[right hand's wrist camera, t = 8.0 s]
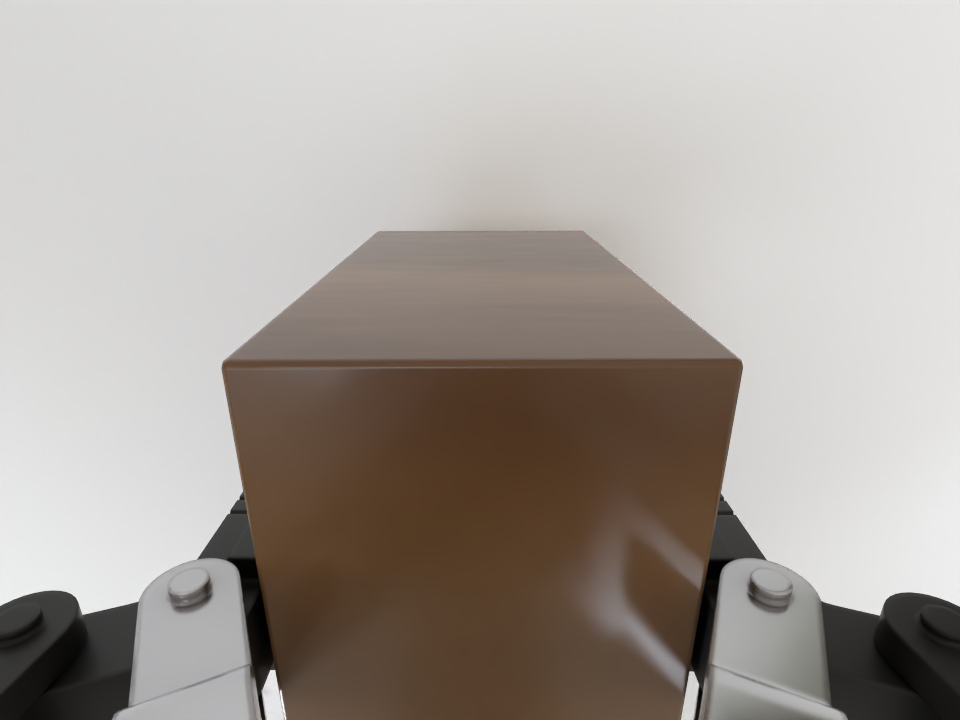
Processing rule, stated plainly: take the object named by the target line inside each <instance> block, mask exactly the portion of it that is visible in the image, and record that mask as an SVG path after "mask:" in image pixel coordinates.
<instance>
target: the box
mask: <svg viewBox="0 0 960 720" xmlns="http://www.w3.org/2000/svg"><path fill="white" fill-rule="evenodd" d="M742 370H743V365H742V361H741V360H740V359H739V358H738V357H737V356H735V355H734V354H733V353H732V352H731V351H729V350H728V349H727V348H726V347H724V346H723V345H722V344H721V343H720V342H718V341H717V340H716V339H715V338H713V337H712V336H711V335H710V334H709V333H707V332H706V331H705V330H704V329H702V328H701V327H700V326H699V325H697V324H696V323H695V322H694V321H693V320H691V319H690V318H689V317H688V316H686V315H685V314H684V313H683V312H682V311H680V310H679V309H678V308H677V307H675V306H674V305H673V304H672V303H670V302H669V301H668V300H667V299H666V298H664V297H663V296H662V295H661V294H659V293H658V292H657V291H656V290H655V289H653V288H652V287H651V286H650V285H648V284H647V283H646V282H645V281H644V280H642V279H641V278H640V277H639V276H637V275H636V274H635V273H634V272H632V271H631V270H630V269H629V268H628V267H626V266H625V265H624V264H623V263H621V262H620V261H619V260H618V259H617V258H615V257H614V256H613V255H612V254H610V253H609V252H608V251H607V250H605V249H604V248H603V247H602V246H601V245H599V244H598V243H597V242H596V241H594V240H593V239H592V238H591V237H590V236H588V235H587V234H586V233H585V232H583V231H379V232H377V233H376V234H375V235H373V236H372V237H371V238H370V239H369V240H368V241H366V242H365V243H364V244H363V245H362V246H360V247H359V248H358V249H357V250H356V251H354V252H353V253H352V254H351V255H350V256H348V257H347V258H346V259H345V260H344V261H342V262H341V263H340V264H339V265H338V266H336V267H335V268H334V269H333V270H332V271H331V272H329V273H328V274H327V275H326V276H325V277H323V278H322V279H321V280H320V281H319V282H317V283H316V284H315V285H314V286H313V287H311V288H310V289H309V290H308V291H307V292H305V293H304V294H303V295H302V296H301V297H300V298H298V299H297V300H296V301H295V302H294V303H292V304H291V305H290V306H289V307H288V308H286V309H285V310H284V311H283V312H282V313H280V314H279V315H278V316H277V317H276V318H274V319H273V320H272V321H271V322H270V323H268V324H267V325H266V326H265V327H264V328H263V329H261V330H260V331H259V332H258V333H257V334H255V335H254V336H253V337H252V338H251V339H249V340H248V341H247V342H246V343H245V344H243V345H242V346H241V347H240V348H239V349H237V350H236V351H235V352H234V353H233V354H232V355H230V356H229V357H228V358H227V359H226V360H224V361H223V364H222V374H223V379H224V385H225V390H226V396H227V402H228V407H229V413H230V419H231V424H232V430H233V435H234V441H235V447H236V452H237V458H238V463H239V469H240V475H241V480H242V486H243V491H244V497H245V503H246V508H247V514H248V519H249V525H250V531H251V536H252V542H253V547H254V553H255V559H256V564H257V570H258V575H259V581H260V587H261V592H262V598H263V603H264V609H265V615H266V620H267V626H268V632H269V637H270V643H271V648H272V654H273V660H274V665H275V671H276V676H277V682H278V688H279V693H280V699H281V704H282V710H283V716H284V720H681V715H682V710H683V704H684V698H685V693H686V687H687V681H688V676H689V670H690V664H691V659H692V653H693V647H694V642H695V636H696V630H697V625H698V619H699V613H700V608H701V602H702V596H703V591H704V585H705V579H706V574H707V568H708V562H709V557H710V551H711V545H712V540H713V534H714V528H715V523H716V517H717V511H718V506H719V500H720V494H721V489H722V483H723V477H724V472H725V466H726V460H727V455H728V449H729V443H730V438H731V432H732V426H733V421H734V415H735V409H736V404H737V398H738V392H739V387H740V381H741V375H742Z"/></svg>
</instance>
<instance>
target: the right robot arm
mask: <svg viewBox="0 0 960 720" xmlns="http://www.w3.org/2000/svg"><path fill="white" fill-rule="evenodd" d="M270 670H275V665H274V660H273V654H272V648H271V643H270V637H269V632H268V626H267V620H266V615H265V609H264V603H263V598H262V592H261V587H260V581H259V575H258V570H257V564H256V559H255V553H254V547H253V542H252V536H251V531H250V525H249V519H248V514H247V508H246V503H245V497H244V491H243V493H242V494H241V496H240V500H237V502H236V503H235V505H234V506H233V507H232V509H231V510H230V514H228V515H227V516H226V518H225V519H224V521H223V522H222V524H221V525H220V527H219V528H218V530H217V531H216V533H215V534H214V536H213V537H212V538H211V540H210V541H209V543H208V544H207V546H206V547H205V549H204V550H203V552H202V553H201V555H200V556H199V558H198V559H197V560H193V561H189V562H186V563H183V564H181V565H178V566H176V567H174V568H172V569H170V570H168V571H166V572H165V573H163V574H162V575H160V576H159V577H157V578H156V579H155V580H154V581H153V582H152V583H151V584H150V585H149V586H148V587H147V588H146V589H145V591H144V592H143V593H142V595H141V597H140V600H139V602H136V603H132V604H129V605H124V606H120V607H116V608H111V609H107V610H103V611H98V612H94V613H89V614H85V615H82V613H81V609H80V606H79V603H78V601H77V599H76V598H75V597H74V596H73V595H72V594H70V593H67V592H63V591H43V592H38V593H33V594H29V595H26V596H23V597H20V598H17V599H15V600H12V601H10V602H8V603H6V604H3V605H2V606H0V720H267V717H266V711H265V704H264V698H263V693H262V689H263V687H264V684H265V682H266V679H267V677H268V674H269V672H270ZM689 671H694V673H695V675H696V678H697V680H698V683H699V688H698V693H697V698H696V704H695V711H694V717H693V720H960V607H959V606H957V605H955V604H952V603H950V602H948V601H945V600H942V599H940V598H937V597H933V596H930V595H925V594H920V593H899V594H895V595H892V596H890V597H889V598H888V599H887V600H886V601H885V603H884V606H883V609H882V612H881V615H880V616H878V615H874V614H869V613H865V612H861V611H856V610H852V609H848V608H843V607H839V606H835V605H831V604H828V603H824V602H822V601H821V600H820V598H819V595H818V593H817V592H816V591H815V589H814V588H813V587H812V586H811V585H810V584H809V583H808V582H807V581H806V580H805V579H804V578H803V577H801V576H800V575H798V574H797V573H795V572H794V571H792V570H790V569H788V568H786V567H784V566H782V565H779V564H777V563H774V562H771V561H767V560H766V558H765V557H764V556H763V554H762V553H761V551H760V550H759V548H758V547H757V545H756V544H755V542H754V541H753V540H752V538H751V537H750V535H749V534H748V532H747V531H746V529H745V528H744V526H743V525H742V523H741V522H740V521H739V519H738V518H737V516H736V515H733V510H732V509H731V507H730V506H729V505H728V503H727V502H726V501H724V497H723V496H722V494H720V500H719V506H718V511H717V517H716V523H715V528H714V534H713V540H712V545H711V551H710V557H709V562H708V568H707V574H706V579H705V585H704V591H703V596H702V602H701V608H700V613H699V619H698V625H697V630H696V636H695V642H694V647H693V653H692V659H691V664H690V670H689Z"/></svg>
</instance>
